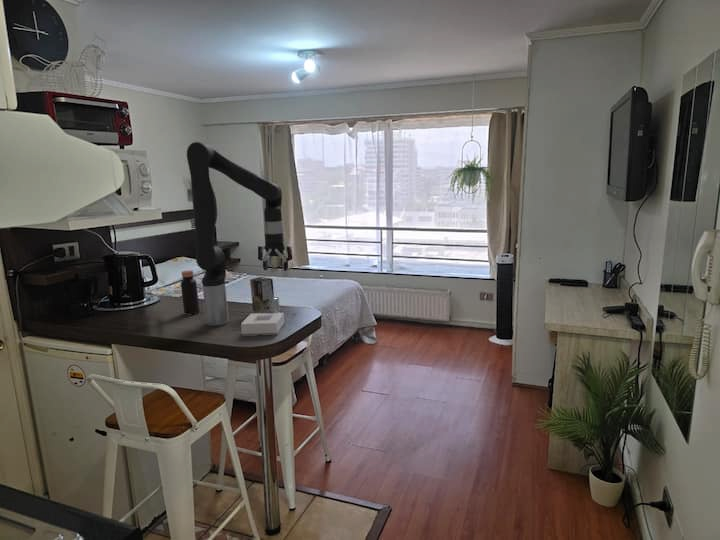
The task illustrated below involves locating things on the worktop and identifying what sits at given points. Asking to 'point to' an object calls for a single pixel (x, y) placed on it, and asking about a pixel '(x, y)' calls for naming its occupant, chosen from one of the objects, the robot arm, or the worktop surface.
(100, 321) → the worktop surface
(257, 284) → the coffee box
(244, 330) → the socket block
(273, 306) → the peg
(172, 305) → the worktop surface
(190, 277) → the bottle
